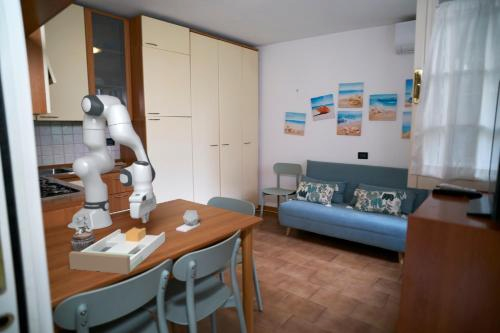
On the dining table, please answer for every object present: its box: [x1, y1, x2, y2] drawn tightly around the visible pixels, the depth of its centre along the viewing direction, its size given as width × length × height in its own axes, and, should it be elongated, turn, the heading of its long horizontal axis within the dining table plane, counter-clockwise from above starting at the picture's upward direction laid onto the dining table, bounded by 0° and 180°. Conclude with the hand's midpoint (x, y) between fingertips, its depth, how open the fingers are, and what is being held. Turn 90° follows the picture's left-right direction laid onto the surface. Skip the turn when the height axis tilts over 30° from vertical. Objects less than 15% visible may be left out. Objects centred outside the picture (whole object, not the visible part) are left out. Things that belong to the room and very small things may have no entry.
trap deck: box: [68, 228, 166, 275], centre depth 137 cm, size 24×34×6 cm
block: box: [125, 227, 147, 242], centre depth 148 cm, size 6×8×4 cm
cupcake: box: [70, 226, 96, 252], centre depth 142 cm, size 10×10×10 cm
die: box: [182, 209, 200, 226], centre depth 177 cm, size 8×9×10 cm
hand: (145, 222), depth 156 cm, fingers closed
